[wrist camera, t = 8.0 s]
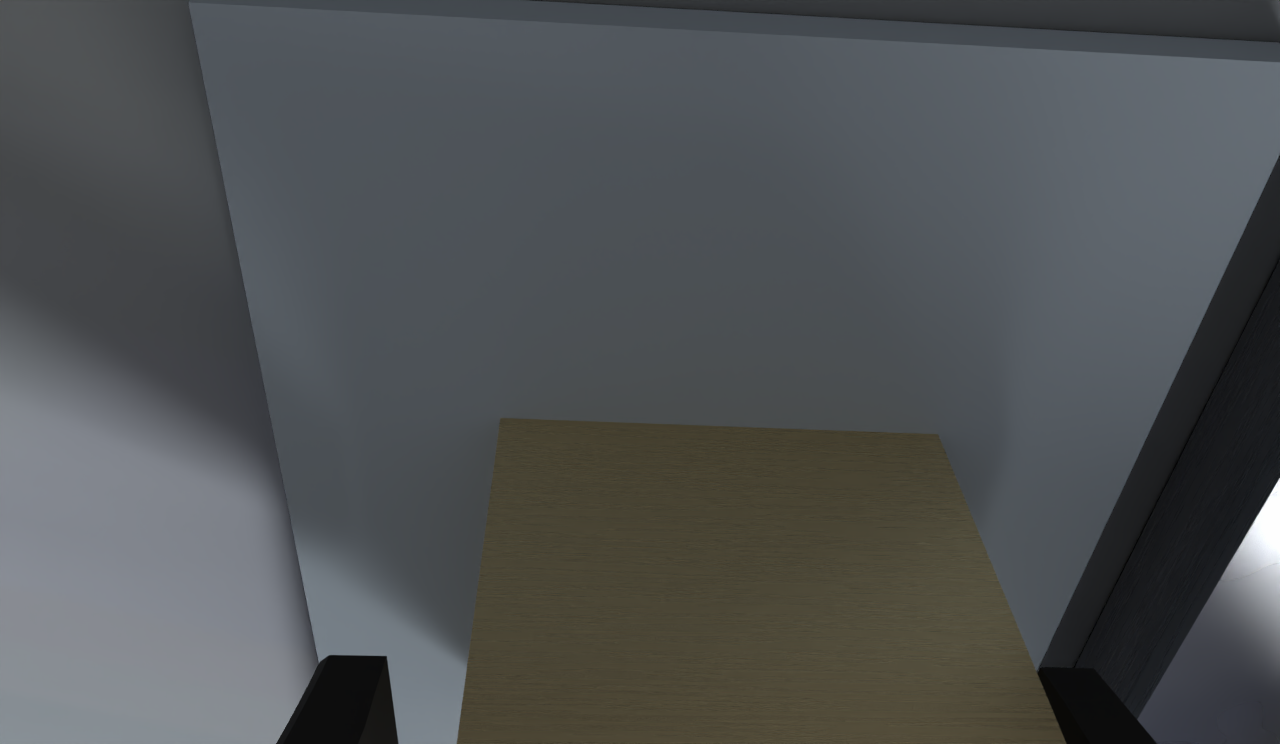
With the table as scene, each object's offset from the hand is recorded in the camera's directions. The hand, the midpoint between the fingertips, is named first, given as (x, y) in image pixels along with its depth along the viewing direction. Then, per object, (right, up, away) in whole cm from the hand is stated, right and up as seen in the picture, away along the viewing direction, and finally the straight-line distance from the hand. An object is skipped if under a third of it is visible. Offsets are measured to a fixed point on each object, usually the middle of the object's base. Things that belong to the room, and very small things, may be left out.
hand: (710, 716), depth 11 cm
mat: (0, +2, +2) cm, 3 cm away
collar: (0, +1, +2) cm, 2 cm away
